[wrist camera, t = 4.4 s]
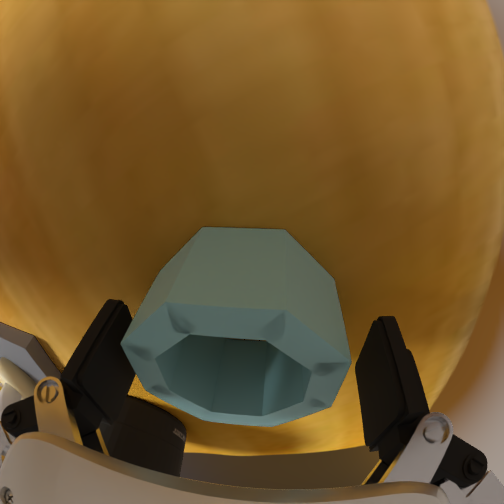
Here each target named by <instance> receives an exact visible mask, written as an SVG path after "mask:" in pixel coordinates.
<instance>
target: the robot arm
mask: <svg viewBox="0 0 504 504" xmlns="http://www.w3.org/2000/svg"><path fill="white" fill-rule="evenodd" d="M131 322H132V317H131V315H130V312H129V309H128V307H127V305H125V304H124V302H123V301H121V300H114V299H108V300H107V301H106V303H105V304H104V306H103V307H102V309H101V310H100V312H99V313H98V315H97V316H96V318H95V319H94V321H93V322H92V324H91V326H90V327H89V329H88V330H87V332H86V333H85V335H84V337H83V338H82V340H81V341H80V343H79V345H78V346H77V348H76V350H75V351H74V353H73V355H72V356H71V358H70V360H69V361H68V363H67V365H66V367H65V368H64V370H63V372H62V374H61V376H60V377H61V378H60V380H59V379H57V378H55V377H51V376H49V377H45V378H43V379H41V380H40V381H39V382H38V383H37V385H36V386H35V389H34V395H32V396H30V397H27V398H25V399H23V400H20V401H18V402H15V403H12V404H10V405H8V406H7V407H6V408H5V409H4V410H3V412H2V415H1V421H0V504H504V486H503V485H502V484H501V482H500V481H499V480H498V479H497V477H496V476H495V475H494V473H493V472H492V471H491V470H490V471H487V459H486V456H485V455H484V454H483V453H482V452H481V451H479V450H478V449H476V448H475V447H473V446H471V445H470V444H468V443H466V442H465V441H463V440H462V439H460V438H458V437H457V436H455V435H453V426H452V423H451V421H450V420H449V418H448V417H447V416H445V415H444V414H442V413H439V412H433V413H430V412H429V408H428V404H427V400H426V397H425V393H424V390H423V386H422V383H421V380H420V376H419V373H418V370H417V367H416V364H415V361H414V358H413V355H412V353H411V351H410V350H409V349H406V346H405V343H404V340H403V338H402V335H401V332H400V329H399V326H398V324H397V321H396V319H395V317H394V316H379V317H378V319H377V320H374V321H373V323H372V326H371V328H370V331H369V333H368V336H367V338H366V341H365V343H364V346H363V348H362V351H361V353H360V355H359V358H358V360H357V362H356V366H355V373H356V379H357V385H358V392H359V399H360V406H361V414H362V422H363V430H364V439H365V444H366V446H369V448H370V452H371V451H379V459H380V460H379V462H378V463H377V464H376V466H375V467H374V469H373V470H372V471H371V473H370V474H369V475H368V477H367V478H366V479H365V481H364V482H363V483H362V484H361V485H360V486H352V487H341V488H326V489H304V490H281V489H257V488H246V487H236V486H227V485H220V484H212V483H207V482H201V481H196V480H191V479H186V478H180V477H177V476H172V475H168V474H164V473H160V472H157V471H153V470H149V469H146V468H143V467H139V466H136V465H133V464H130V463H127V462H124V461H121V460H118V459H116V458H113V457H110V456H109V453H108V451H107V448H106V446H105V443H104V440H103V438H102V435H101V432H100V429H99V426H100V423H101V422H102V423H105V424H108V425H110V426H112V424H113V421H116V420H117V419H118V417H119V414H120V411H121V409H122V406H123V404H124V401H125V399H126V396H127V394H128V391H129V389H130V387H131V384H132V382H133V379H134V377H135V375H136V373H135V371H134V369H133V367H132V365H131V363H130V362H129V360H128V358H127V356H126V354H125V352H124V350H123V348H122V346H121V344H120V343H121V341H122V339H123V338H124V336H125V334H126V332H127V330H128V328H129V326H130V324H131Z"/></svg>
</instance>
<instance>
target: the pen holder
mask: <svg viewBox="0 0 504 504" xmlns="http://www.w3.org/2000/svg"><path fill="white" fill-rule="evenodd" d="M99 429H100V432H101V435H102V438H103V440H104V443H105V446H106V448H107V451H108V453H109V456H110V457H113V458H116V459H118V460H121V461H124V462H127V463H130V464H133V465H136V466H139V467H143V468H146V469H149V470H153V471H157V472H160V473H164V474H168V475H172V476H177V477H180V471H181V465H182V460H183V453H184V447H185V441H186V429H185V428H184V425H183V424H182V423H181V422H180V421H179V420H178V419H177V418H175V417H174V416H172V415H171V414H169V413H168V412H166V411H164V410H162V409H160V408H158V407H156V406H154V405H152V404H149V403H147V402H144V401H142V400H139V399H136V398H133V397H130V396H126V399H125V401H124V404H123V406H122V409H121V411H120V414H119V417H118V419H117V420H116V421H113V424H112V426H110V425H108V424H105V423H102V422H101V423H100V426H99Z"/></svg>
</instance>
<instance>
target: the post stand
mask: <svg viewBox="0 0 504 504" xmlns="http://www.w3.org/2000/svg"><path fill="white" fill-rule="evenodd" d="M49 376H51V377H55V378H57V379H59V380H60V378H61V377H60V376H61V373H60V372H59V370H58V369H57V368H56V366H55V365H54V364H53V362H52V361H51V360H50V358H49V357H48V356H47V354H46V353H45V351H44V350H43V348H42V347H41V345H40V344H39V342H38V341H37V339H36V338H35V336H34V335H31V334H28V333H25V332H23V331H20V330H18V329H15V328H13V327H10V326H8V325H5V324H3V323H1V322H0V382H1V383H2V384H3V387H2V389H1V391H0V421H1V415H2V412H3V410H4V409H5V408H6V407H7V406H8V405H10V404H12V403H15V402H18V401H20V400H23V399H25V398H27V397H30V396H32V395H34V389H35V386H36V385H37V383H38V382H39V381H40V380H41V379H43V378H45V377H49Z"/></svg>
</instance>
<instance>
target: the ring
mask: <svg viewBox="0 0 504 504" xmlns="http://www.w3.org/2000/svg"><path fill="white" fill-rule="evenodd" d="M225 338H237V339H253V340H266V341H250V340H235V339H225ZM120 344H121V346H122V348H123V350H124V352H125V354H126V356H127V358H128V360H129V362H130V363H131V365H132V367H133V369H134V371H135V373H136V374H137V376H138V378H139V380H140V382H141V383H142V385H143V387H144V388H145V390H146V391H148V392H149V393H151V394H153V395H155V396H156V397H158V398H160V399H162V400H164V401H165V402H167V403H169V404H171V405H173V406H175V407H177V408H179V409H181V410H183V411H185V412H187V413H189V414H191V415H193V416H195V417H197V418H199V419H201V420H204V421H210V422H218V423H227V424H237V425H249V426H266V427H273V426H277V425H280V424H283V423H286V422H290V421H293V420H296V419H299V418H302V417H304V416H307V415H310V414H313V413H316V412H318V411H321V410H324V409H326V408H329V407H331V406H332V404H333V402H334V400H335V398H336V396H337V394H338V391H339V389H340V387H341V385H342V383H343V381H344V378H345V376H346V374H347V372H348V369H349V367H350V365H351V362H352V361H351V355H350V350H349V345H348V340H347V335H346V330H345V325H344V320H343V316H342V311H341V307H340V302H339V298H338V293H337V289H336V285H335V281H334V278H333V277H332V276H331V275H330V274H329V273H328V272H327V271H326V270H325V269H324V268H323V267H322V266H321V265H320V264H319V263H318V262H317V261H316V260H315V259H314V258H313V257H312V256H311V255H310V254H309V253H308V252H307V251H306V250H305V249H304V248H303V247H302V246H301V245H300V244H299V243H298V242H297V241H296V240H295V239H294V238H293V237H292V236H291V235H290V234H289V233H288V232H287V231H286V230H285V229H258V228H224V227H202V228H201V229H200V230H199V231H198V232H197V233H196V234H195V235H194V236H193V237H192V238H191V239H190V240H189V241H188V242H187V243H186V244H185V245H184V246H183V247H182V248H181V249H180V250H179V251H178V252H177V254H176V255H175V256H174V257H173V258H172V259H171V260H170V261H169V262H168V263H167V264H166V265H165V266H164V267H163V268H162V269H161V270H160V272H159V273H158V275H157V277H156V279H155V280H154V282H153V284H152V286H151V287H150V289H149V291H148V293H147V295H146V296H145V298H144V300H143V302H142V304H141V305H140V307H139V309H138V311H137V313H136V315H135V317H134V318H133V320H132V322H131V324H130V326H129V328H128V330H127V332H126V334H125V336H124V338H123V339H122V341H121V343H120Z"/></svg>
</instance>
